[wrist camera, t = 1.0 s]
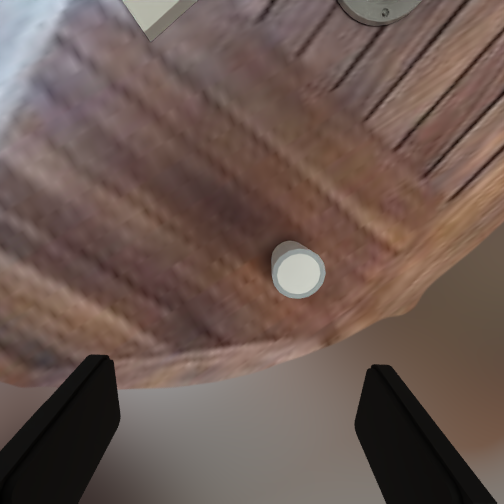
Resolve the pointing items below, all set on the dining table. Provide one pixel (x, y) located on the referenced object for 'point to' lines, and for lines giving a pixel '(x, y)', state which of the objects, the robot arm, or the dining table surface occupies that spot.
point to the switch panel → (157, 14)
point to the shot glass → (296, 270)
